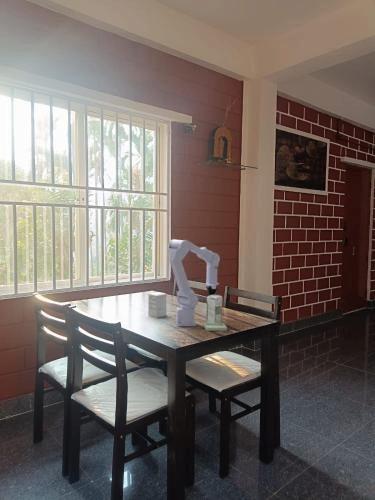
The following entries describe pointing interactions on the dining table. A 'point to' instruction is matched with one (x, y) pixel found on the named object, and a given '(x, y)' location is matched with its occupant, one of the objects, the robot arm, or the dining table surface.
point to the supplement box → (157, 304)
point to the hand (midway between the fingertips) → (211, 299)
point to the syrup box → (214, 309)
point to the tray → (215, 326)
